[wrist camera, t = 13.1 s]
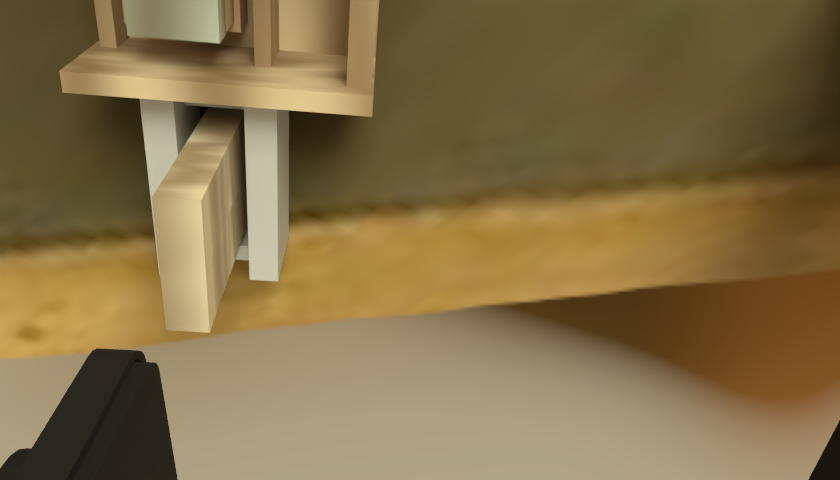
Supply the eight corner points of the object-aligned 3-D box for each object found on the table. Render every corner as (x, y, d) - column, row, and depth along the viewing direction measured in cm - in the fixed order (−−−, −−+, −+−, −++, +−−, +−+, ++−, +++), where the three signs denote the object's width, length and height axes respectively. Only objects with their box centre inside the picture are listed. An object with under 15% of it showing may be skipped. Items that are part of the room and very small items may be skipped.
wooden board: (250, 101, 39) (201, 200, 29) (252, 209, 43) (209, 332, 33) (214, 98, 39) (151, 197, 29) (219, 207, 43) (165, 330, 32)
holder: (289, 76, 39) (276, 107, 34) (288, 236, 44) (278, 281, 40) (167, 66, 38) (139, 97, 34) (181, 229, 43) (159, 274, 39)
